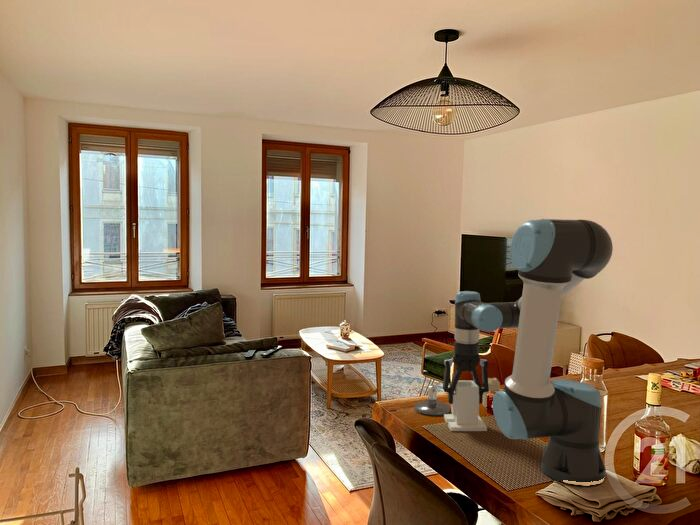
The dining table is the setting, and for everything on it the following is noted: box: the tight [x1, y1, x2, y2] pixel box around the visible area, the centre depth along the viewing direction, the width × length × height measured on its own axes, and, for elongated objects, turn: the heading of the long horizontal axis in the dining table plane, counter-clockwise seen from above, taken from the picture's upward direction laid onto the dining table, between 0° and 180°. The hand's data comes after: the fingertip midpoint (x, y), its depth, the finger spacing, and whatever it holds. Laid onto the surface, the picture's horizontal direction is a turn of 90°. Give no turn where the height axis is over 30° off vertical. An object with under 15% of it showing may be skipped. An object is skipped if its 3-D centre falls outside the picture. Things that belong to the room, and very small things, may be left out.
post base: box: [413, 384, 451, 417], centre depth 178 cm, size 12×12×8 cm
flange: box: [443, 380, 488, 432], centre depth 165 cm, size 11×11×13 cm
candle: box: [482, 377, 501, 409], centre depth 182 cm, size 6×6×10 cm
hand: (464, 413), depth 166 cm, fingers closed on flange, 7 cm apart
